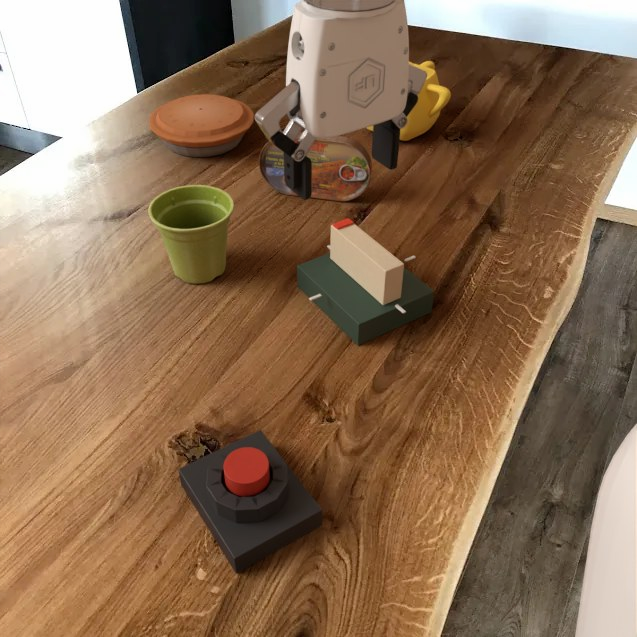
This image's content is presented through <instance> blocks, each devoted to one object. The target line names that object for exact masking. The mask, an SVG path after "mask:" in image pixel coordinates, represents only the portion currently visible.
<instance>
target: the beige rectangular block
mask: <svg viewBox="0 0 637 637" xmlns="http://www.w3.org/2000/svg"><path fill="white" fill-rule="evenodd" d="M329 238H330V241H329V242H330V244H329V245H330V249H329V253H330V259H331V260H333V261H334V262H335V263H336V264H337V265H338V266H339V267H340V268H342V269H343V270H344V271H345V272H346V273H347V274H348V275H349V276H351V277H352V278H353V279H354V280H355V281H356V282H357V283H358V284H360V285H361V286H362V287H363V288H364V289H365V290H366V291H367V292H369V293H370V294H371V295H372V296H373V297H374V298H375V299H376V300H378V301H379V302H380V303H381V304H382V305H385V304H388V303H390V302H392V301H394V300H397V299H399V298H401V290H402V280H403V271H404V267H405V263H403V261H401V260H400V259H398V258H397V257H396V256H395V255H393V254H392V253H391V252H390V251H389V250H387V249H386V247H384V246H383V245H381V244H380V243H379V242H377V240H375V239H374V238H373V237H371V236H370V234H368V233H367V232H366V231H364V230H363V229H361V227H359V226H358V225H357V224H355V222H354V221H353V220H351V219H350V218H348V217H347V218H345V219H342V220H339V221H336V222H334V223H333V222H332V224H330V237H329Z"/></svg>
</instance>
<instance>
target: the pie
mask: <svg viewBox="0 0 637 637" xmlns="http://www.w3.org/2000/svg"><path fill="white" fill-rule="evenodd" d="M254 120H255V113H254V111H253V110H252V109H251V107H250V106H248V105H247V104H245V103H244V102H242V101H239V100H236V99H233V98H230V97H228V96H225V95H220V94H219V95H218V94H206V93H202V94H192V95H186V96H180V97H178V98H175V99H172V100H170V101H168V102H167V103H165V104H162V105H160V106H159V107H157V108H155V109H154V110H153V112H152V113H151V114H149V120H148V124H149V129H150V131H152V133H154V135H156V136H157V137H158V138H159V139H160V140H161V142H162V143H163V144H164V145H165V146H166V147H167V148H168V149H169V150H171V152H173V153H175V154H178V155H180V156H185V157H190V158H209V157H210V158H211V157H215V156H219V155H223V154H226V153H228V152H230V151H232V150H233V149H235V148H236V147H237V146H238V145H239V144H240V142H241V140H242V139H243V137H244V136H245V134H246V133H247V132H248V131H249V129H250V127H252V125H253V124H254Z"/></svg>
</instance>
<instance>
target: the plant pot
mask: <svg viewBox="0 0 637 637" xmlns="http://www.w3.org/2000/svg"><path fill="white" fill-rule="evenodd" d="M234 209H235V203H234V199H233V198H232V196H231V195H230V194H229V193H228V192H226V191H225V190H223V189H221V188H220V187H219V188H218V187H216V186H210V185H205V184H187V185H181V186H177V187H173V188H170V189H167V190H166V191H164V192H162V193H160V194H158V195H157V196H156V197H154V198H153V200H151V202H150V203H149V206H148V210H147V212H148V216H149V219H150V220H151V222H152V223H153V225H155V227H156V229H157V231H158V232H159V233H160V236H161V239H162V242H163V244H164V248H165V250H166V253H167V256H168V259H169V261H170V266H171V268H172V272H173V274H174V275H175V277H177V278H179V279H180V280H182V281H183V282H184V283H188V284H194V285H195V284H196V285H198V284H206V283H210V282H212V281H213V280H214V279H215V278H217V277H219V276H222V275H223V274H224V272H225V270H226V268H227V246H228V230H229V229H228V228H229V224H230V222H231V216H232V214H233V213H234Z"/></svg>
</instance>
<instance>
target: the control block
mask: <svg viewBox="0 0 637 637" xmlns="http://www.w3.org/2000/svg"><path fill="white" fill-rule="evenodd" d="M244 447H252V448H256V449H258V450H260V451H262V452H263V453H264V454H265V455H266V456H267V458H268V461H269V473H270V480H269V483H268V485H267V487H266V488H265V489H264V490H263V491H262V492H260V493H259V494H257V495H254V496H249V497H243V496H238V495H236V494H234V493H232V492H231V491H230V490H229V489H228V488H227V486H226V483H225V476H224V467H223V466H224V461H225V459H226V458H227V456H228V455H229V454H230V453H231V452H233V451H235V450H237V449H239V448H244ZM178 475H179V480H180V485H181V487H182V489H183V490H184V493H185V494H186V495H187V497H188V498H189V500H190V501H191V503H192V505H193V506H194V508H195V509H196V511H197V513H198V514H199V516H200V518H201V520H202V521H203V523H204V524H205V526H206V528H207V529H208V531H209V532H210V534H211V536H212V537H213V539H214V540H215V542H216V543H217V545H218V547H219V549H220V550H221V552H222V553H223V555H224V557H225V558H226V559H227V562H229V565H230V566H231V568H232V569H233V571H234V573H235V574H238V573H240V572H242V571H245V569H247V568H249V567H251V566H253V565H254V564H256V563H258V562H260V561H262V560H263V559H265V558H267V557H269V556H270V555H272V554H274V553H275V552H277V551H280V550H281V549H283V548H285V547H286V546H287V545H289V544H291V543H293V542H296V541H297V540H299V539H300V538H302V537H304V536H305V535H307V534H309V533H311V532H313V531H314V530H316V529H319V528H320V527H322V526H323V508H322V507H321V506H320V505H319V503H318V502H317V501H316V500H315V498H314V497H313V496H312V494H311V493H310V492H309V490H308V489H307V488H306V486H305V485H304V484H303V483H302V482H301V480H300V479H299V477H298V476H297V475H296V474H295V472H294V471H293V470H292V468H291V466H289V465H288V463H287V462H286V460H285V459H284V458H283V457H282V456H281V454H280V453H279V452H278V450H277V449H276V448H275V447H274V445H273V444H272V443H271V441H270V440H269V439H268V437H267V436H266V435H265V434H264V432H263V431H262V430H261V429H259V430H257V431H255V432H253V433H250V434H249V435H246V436H244V437H241V438H239V439H237V440H236V441H234V442H232V443H229V444H227V445H225V446H223V447H222V448H219V449H217V450H215V451H213V452H211V453H208V454H207V455H205V456H203V457H201V458H198V459H197V460H194V461H192V462H190V463H188V464H186V465H184V466H182V467H180V468H178Z"/></svg>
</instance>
